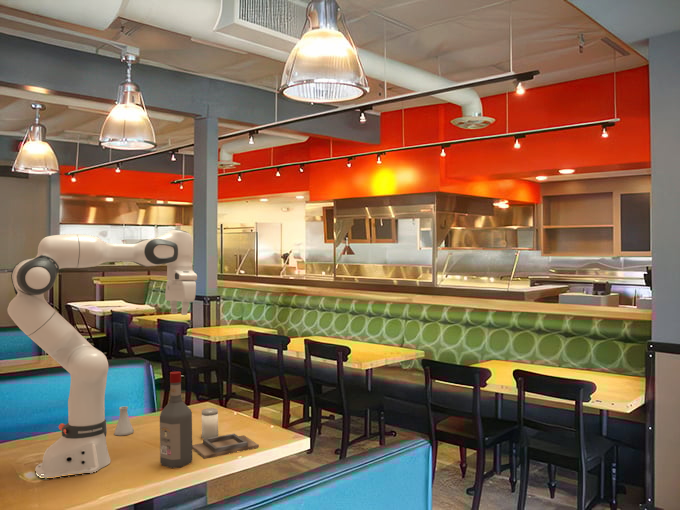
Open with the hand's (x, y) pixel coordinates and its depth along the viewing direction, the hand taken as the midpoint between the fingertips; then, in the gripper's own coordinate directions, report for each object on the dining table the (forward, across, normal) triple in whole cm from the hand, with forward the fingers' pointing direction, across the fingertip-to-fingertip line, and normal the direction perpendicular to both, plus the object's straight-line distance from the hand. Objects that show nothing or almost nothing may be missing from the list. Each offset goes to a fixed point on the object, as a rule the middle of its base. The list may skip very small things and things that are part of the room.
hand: (179, 314), depth 214 cm
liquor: (+49, +12, -5) cm, 50 cm away
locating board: (+47, +8, +14) cm, 50 cm away
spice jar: (+47, -6, +15) cm, 49 cm away
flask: (+47, -31, -10) cm, 57 cm away
